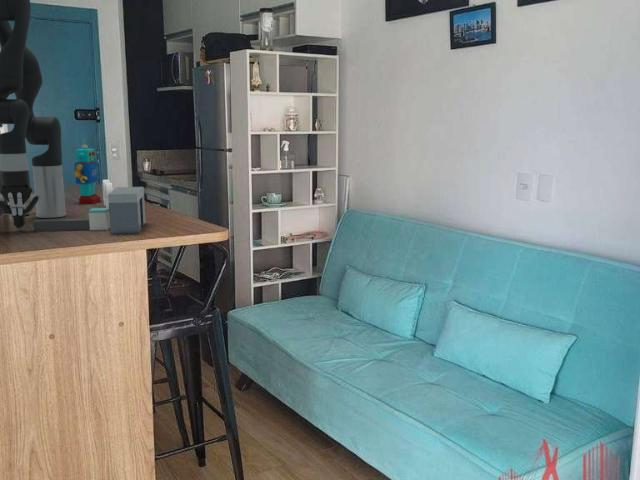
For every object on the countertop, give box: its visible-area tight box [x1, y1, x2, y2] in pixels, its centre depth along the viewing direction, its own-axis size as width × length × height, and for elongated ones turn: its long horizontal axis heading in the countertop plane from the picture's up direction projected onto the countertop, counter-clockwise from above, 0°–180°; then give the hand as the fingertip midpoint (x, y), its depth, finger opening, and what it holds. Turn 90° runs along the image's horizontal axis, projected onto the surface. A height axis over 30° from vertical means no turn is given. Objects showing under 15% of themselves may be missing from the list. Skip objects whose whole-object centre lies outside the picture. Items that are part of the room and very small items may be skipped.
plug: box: [32, 207, 110, 232], centre depth 191 cm, size 4×21×6 cm, turn 99°
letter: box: [101, 179, 114, 209], centre depth 236 cm, size 22×2×10 cm, turn 22°
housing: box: [108, 186, 147, 235], centre depth 193 cm, size 18×8×12 cm, turn 9°
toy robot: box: [74, 138, 102, 205], centre depth 249 cm, size 12×6×25 cm, turn 179°
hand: (19, 227), depth 189 cm, fingers closed
